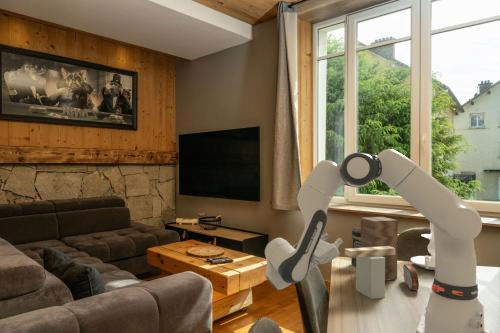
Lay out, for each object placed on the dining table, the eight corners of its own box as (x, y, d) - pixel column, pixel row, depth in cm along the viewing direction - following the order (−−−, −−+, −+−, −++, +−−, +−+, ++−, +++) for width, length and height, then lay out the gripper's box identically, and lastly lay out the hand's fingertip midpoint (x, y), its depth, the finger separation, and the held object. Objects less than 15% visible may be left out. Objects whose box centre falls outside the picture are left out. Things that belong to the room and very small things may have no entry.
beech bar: (350, 257, 131) (350, 251, 131) (344, 255, 135) (344, 248, 135) (395, 254, 136) (395, 248, 136) (388, 252, 140) (388, 246, 140)
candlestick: (401, 270, 166) (402, 211, 166) (417, 259, 184) (418, 207, 184) (450, 280, 152) (451, 216, 152) (462, 267, 171) (463, 211, 171)
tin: (419, 293, 136) (419, 272, 136) (410, 293, 136) (411, 271, 136) (409, 281, 151) (410, 261, 150) (402, 280, 151) (402, 261, 151)
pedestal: (370, 298, 130) (371, 258, 130) (355, 289, 140) (356, 252, 139) (384, 297, 131) (385, 257, 131) (368, 288, 141) (369, 251, 141)
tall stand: (373, 281, 150) (374, 221, 150) (360, 274, 159) (360, 217, 159) (397, 278, 153) (397, 220, 153) (382, 272, 163) (383, 216, 162)
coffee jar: (348, 265, 174) (349, 228, 173) (357, 262, 179) (358, 226, 179) (365, 269, 166) (366, 231, 166) (374, 266, 171) (375, 229, 171)
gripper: (314, 257, 117) (345, 235, 121) (291, 244, 137) (318, 225, 140) (323, 273, 118) (353, 250, 121) (298, 258, 138) (326, 238, 141)
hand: (334, 237), depth 131 cm, fingers open, 8 cm apart
